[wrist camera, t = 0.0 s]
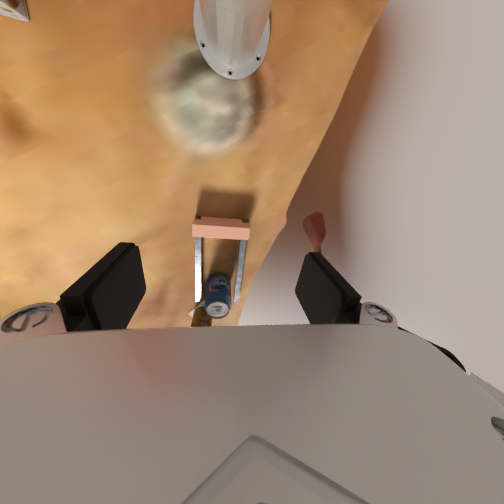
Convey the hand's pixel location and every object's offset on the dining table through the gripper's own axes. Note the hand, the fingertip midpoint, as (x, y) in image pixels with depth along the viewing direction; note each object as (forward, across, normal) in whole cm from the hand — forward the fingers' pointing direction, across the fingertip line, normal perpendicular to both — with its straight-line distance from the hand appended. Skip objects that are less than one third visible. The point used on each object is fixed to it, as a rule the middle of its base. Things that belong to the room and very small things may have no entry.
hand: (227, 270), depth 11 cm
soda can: (+37, 0, +29) cm, 47 cm away
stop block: (+37, 0, +11) cm, 38 cm away
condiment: (+37, +4, +42) cm, 56 cm away
